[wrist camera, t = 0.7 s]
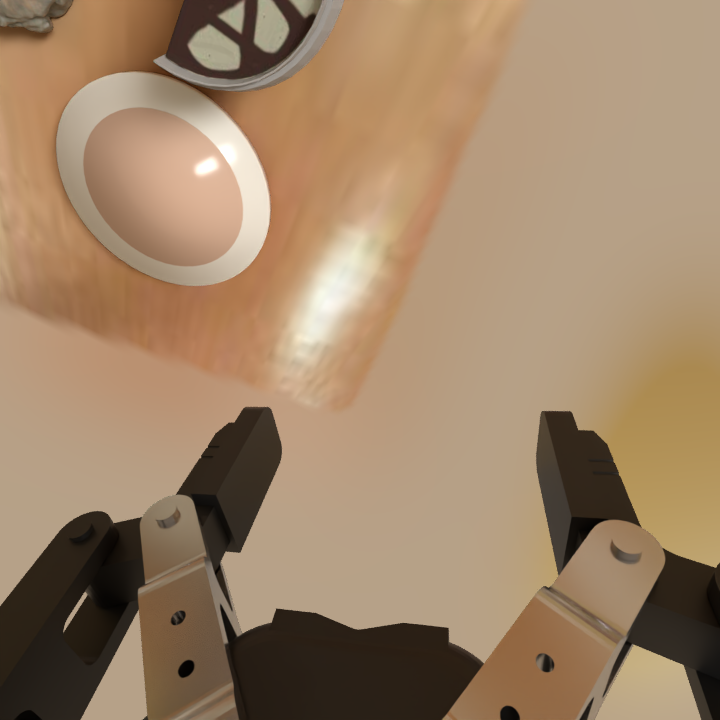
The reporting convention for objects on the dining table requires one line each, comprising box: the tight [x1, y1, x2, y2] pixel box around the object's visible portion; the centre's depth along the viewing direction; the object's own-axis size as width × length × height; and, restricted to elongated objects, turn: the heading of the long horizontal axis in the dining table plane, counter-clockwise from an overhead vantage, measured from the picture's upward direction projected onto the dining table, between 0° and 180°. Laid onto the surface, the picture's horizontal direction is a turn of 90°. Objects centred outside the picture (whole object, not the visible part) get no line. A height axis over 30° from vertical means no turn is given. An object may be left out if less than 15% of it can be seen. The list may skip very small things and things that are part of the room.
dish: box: [56, 71, 271, 286], centre depth 35 cm, size 16×16×2 cm
